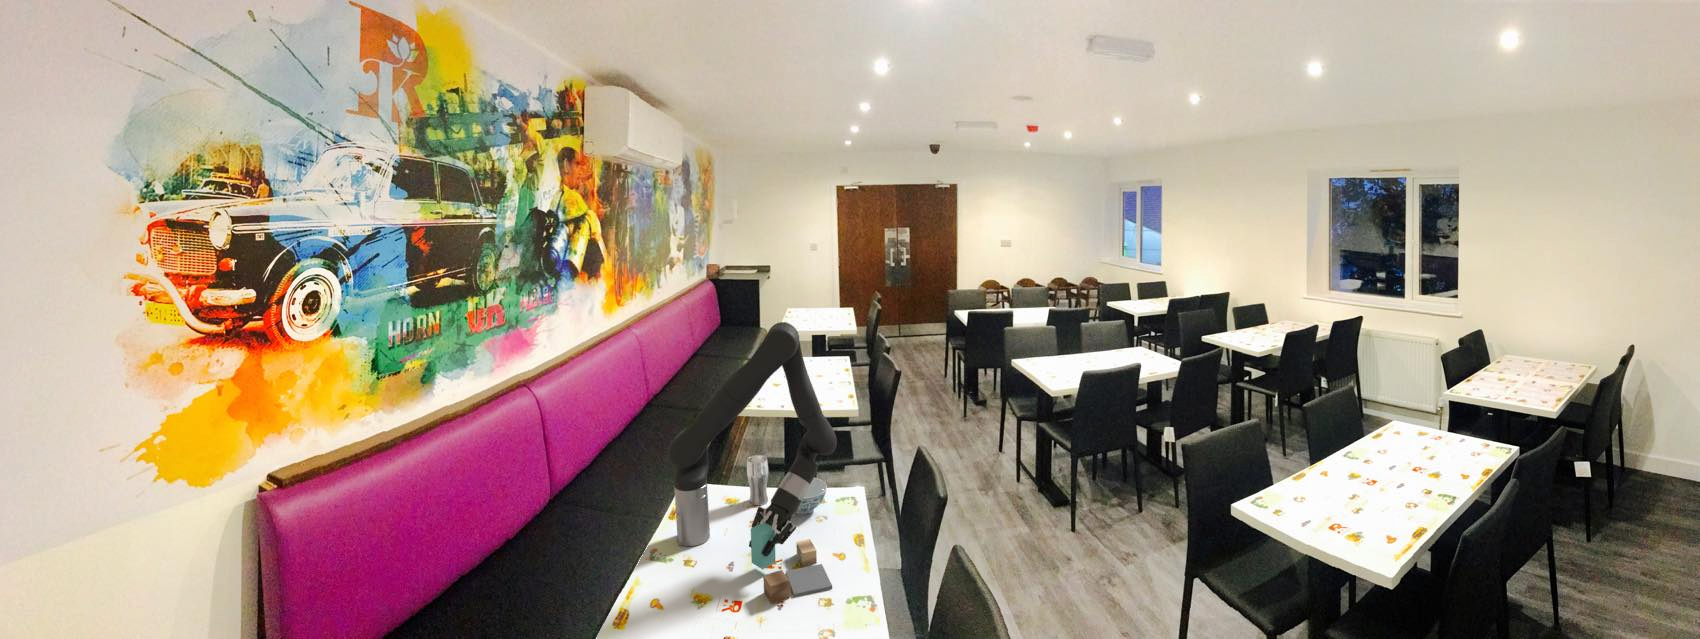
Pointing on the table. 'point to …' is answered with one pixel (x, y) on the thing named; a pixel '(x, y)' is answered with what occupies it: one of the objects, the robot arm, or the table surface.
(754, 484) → the beer glass
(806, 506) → the chinaware
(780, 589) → the walnut cube
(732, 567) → the table surface
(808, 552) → the oak block
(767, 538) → the teal block
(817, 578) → the coaster
